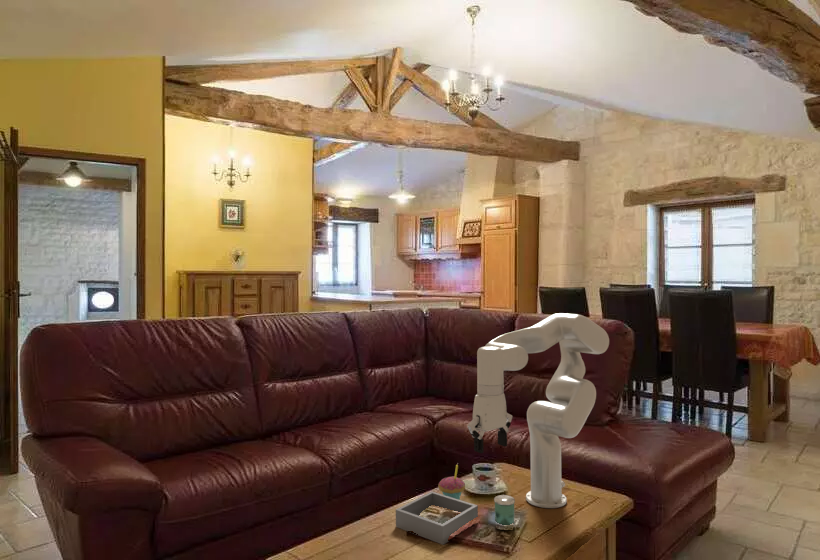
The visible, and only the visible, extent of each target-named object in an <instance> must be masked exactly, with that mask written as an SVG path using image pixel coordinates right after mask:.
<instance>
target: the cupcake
mask: <svg viewBox="0 0 820 560" xmlns="http://www.w3.org/2000/svg"><path fill="white" fill-rule="evenodd" d="M458 464H459V463H458V462H457V464H456V465H455V471H454V476H445V477H444V478H442V479H441V480H440V481H439V482H438V486H437V487H438V489H439V490H440V492H442V493H441V494H442V495H445V496H449V497H452V498H455V499H458V500H461V499H460V498H461V495H462V493H463V492H464V491H465V489H466V484H465V482H464V481H463V480H462V479H461V478H459V477H457V476H458V475H457V474H458V469H459V465H458Z"/></svg>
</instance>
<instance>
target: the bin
mask: <svg viewBox="0 0 820 560" xmlns="http://www.w3.org/2000/svg"><path fill="white" fill-rule="evenodd" d="M431 505H435V506H439V507H443V508H447V509H450V510H454V511H458V512H461V513H460V514H458V515H456V516H455V517H453V518H451V519H450V520H448V521H446V522H445V523H443V524H441V523H438V522H435V521H432V520H429V519H427V518H424V517H421V516H419V515H420V513H421V512H422V511H423V510H425V509H426V508H428V507H429V506H431ZM478 506H479V505H477V504H475V503H470V502H467V501H465V500H461V499H459V500H458V499H455V498H452V497H449V496H445V495H443V493H439V492H435V491H430V492H428V493H426V494H424V495H421V496H420V497H418V498H416V499H414V500H412V501H410V502H408V503H406V504H403V505H401V506H399V507H397V508H396V509H395V527H396V528H398V529H401V530H403V531H405V532H408V531H413V532H414V533H416V534H415V535H416V536H420V537H422V538H424V539H426V540H427V539H428V540H430V541H432V542H435V543H438V544H441V545H442V546H443V545H445V544H447V543H448V542H449V541H448V538H449V536H450V535H451V534H452V533H454V532H455V531H457V530H458V529H459V528H460V527H462V526H463V525H465V524H466V523H468V522H469V521H471V520H473V519H474V518H476V517H478V518H479V515H478V512H479V511H478V510H479V509H478V508H479V507H478ZM414 533H413V534H414ZM417 534H418V535H417Z"/></svg>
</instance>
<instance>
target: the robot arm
mask: <svg viewBox="0 0 820 560" xmlns="http://www.w3.org/2000/svg"><path fill="white" fill-rule="evenodd" d="M558 343H559V349H560V356H561V357H560V362H559V364H558V367H557V369H556V370H555V372H554V374H553V375H552V377H551V379H550V381H549V383H548V384H547V386H546V389H545V396H546V398H547V400H537V401H534V402H532V403H531V404H529V406H528V408H527V411H526V422H527V426H528V427H527V428H528V431H529V438H530V439H529V441H530V447H529V448H530V451H529V452H530V454H529V455H530V491H528V492H526V495H525V500H526V501H527V502H528V503H529V504H530V505H532V506H535V507H539V508H544V509H557V508H558V509H559V508H562V507H564V506H565V505H567V499H568V498H567V496H566V495H565V494H563V493H562V490H563V488H564V487H565V486H566V483H565V481H563V480H562V446H561V440H560V438H559V437H561V438H565V439H572V438H575V437H577V436H578V434H579V433H580V432H581V430H583V429H582V428H583V427H584V425H585V423H586V422H587V419H588V417H589V415H590V414H591V412H592V410H593V408H594V406H595V403H596V400H597V389H596V387H595V384H594V383H593V382H592V381H590V380H588V379H585V378H584V377H585V374H586V366H585V362H584V360H583V359H582V358H583V357H582V355H581V353H584V354H592V355H600V354H601V355H602V354H604V353H605V352H606V351H607V350H608V348H609V345H610V338H609V334H608V333H607V331H606V330H605V329H604V328H603V327H601V326H600V325H598V324H597V323H596V322H594V321H593V320H591V319H590V318H588V317H587V316H584V315H582V314H578V313H564V312H559V313H553V314H551V315H549V316H547V317H545V318H544V319H542V320H540V321H539V322H537V323H535V324H533V325H532V326H528V327H525V328H522V329H518V330H514V331H511V332H507V333H504V334H501V335H499V336H497V337H495V338H493V339H492V340H490V341H488V343H486V344H485V346H481V347H479V348H478V349H477V352H476V355H477V356H476V359H477V361H476V362H477V363H476V368H477V370H476V373H477V375H476V376H477V378H476V379H477V382H476V383H477V384H476V386H477V387H476V388H477V389H476V390H477V393H476V394H475V395H474V400H473V401H474V402H473V408H472V420H470V422H469V423H467V429H468V431H469V435H471V437H472V438H473V450H474V452H477V453H479V454H483V453H484V438H483V436H484V434H485V432H489V431H490V432H491V431H494V430H497V445H499V446H502V447H508V433H509V431H510V429H509V428H510V427H511V422H512V420H513V415H512V414H510V413H508V412H507V409H508V408H507V401H506V395H505V393H504V389H505V384H504V383H505V381H504V379H505V378H504V377H505V376H504V371H505V372H506V371H513V372H515V371H520V370H522V369H523V368H525V367H526V366H527V364H528V361H529V354H538V353H542V352H545V351H546V350H548V349H550V348H551V347H553V346H555V345H556V344H558Z"/></svg>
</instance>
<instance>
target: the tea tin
mask: <svg viewBox="0 0 820 560" xmlns="http://www.w3.org/2000/svg"><path fill="white" fill-rule="evenodd" d="M493 500H494V522H495V521H496V522H497V523H499V524H502V525H510V524H512V523H514V524H515V503H516V502H515V501H516V500H515V498H514V497H513V496H511V495H506V494H501V495H497V496H495V497H494V498H493Z"/></svg>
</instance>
